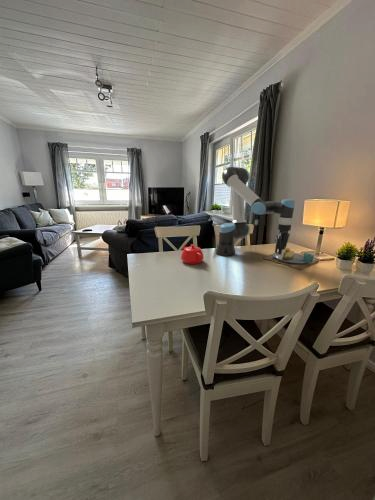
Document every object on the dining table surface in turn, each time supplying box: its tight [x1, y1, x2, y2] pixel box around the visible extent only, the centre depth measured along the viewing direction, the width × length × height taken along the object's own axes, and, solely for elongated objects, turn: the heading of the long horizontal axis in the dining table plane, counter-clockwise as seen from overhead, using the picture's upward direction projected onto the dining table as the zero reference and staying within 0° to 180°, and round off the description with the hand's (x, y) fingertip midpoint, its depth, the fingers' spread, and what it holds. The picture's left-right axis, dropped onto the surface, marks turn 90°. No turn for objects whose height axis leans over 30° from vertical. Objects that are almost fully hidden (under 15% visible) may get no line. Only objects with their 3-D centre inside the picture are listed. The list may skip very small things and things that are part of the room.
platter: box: [272, 251, 315, 264], centre depth 152 cm, size 27×24×6 cm
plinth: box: [261, 253, 320, 271], centre depth 154 cm, size 28×28×1 cm
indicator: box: [274, 238, 278, 253], centre depth 166 cm, size 2×2×11 cm
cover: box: [282, 247, 295, 260], centre depth 149 cm, size 9×9×7 cm
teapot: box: [180, 243, 204, 265], centre depth 146 cm, size 25×16×12 cm, turn 31°
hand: (279, 258), depth 144 cm, fingers closed
